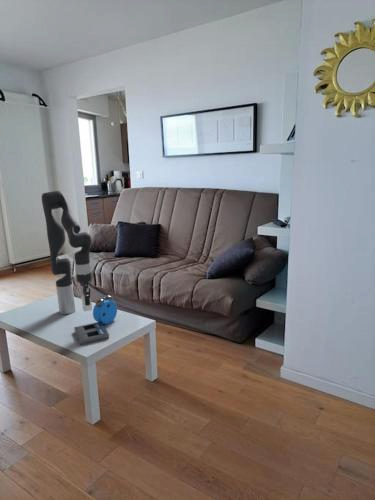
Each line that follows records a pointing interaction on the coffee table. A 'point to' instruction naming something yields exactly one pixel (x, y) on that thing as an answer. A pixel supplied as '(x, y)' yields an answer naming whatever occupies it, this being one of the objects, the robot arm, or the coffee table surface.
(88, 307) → the plug
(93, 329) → the panel
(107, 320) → the alarm clock
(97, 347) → the coffee table surface
